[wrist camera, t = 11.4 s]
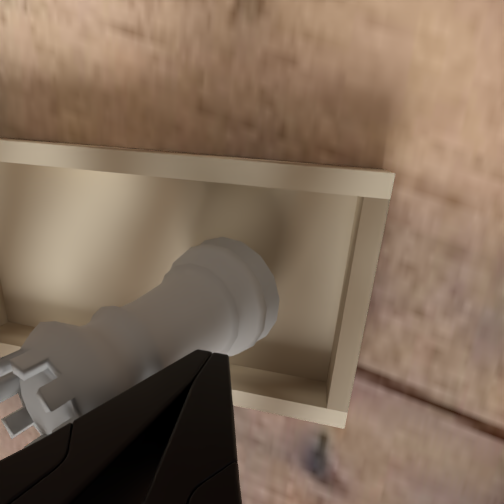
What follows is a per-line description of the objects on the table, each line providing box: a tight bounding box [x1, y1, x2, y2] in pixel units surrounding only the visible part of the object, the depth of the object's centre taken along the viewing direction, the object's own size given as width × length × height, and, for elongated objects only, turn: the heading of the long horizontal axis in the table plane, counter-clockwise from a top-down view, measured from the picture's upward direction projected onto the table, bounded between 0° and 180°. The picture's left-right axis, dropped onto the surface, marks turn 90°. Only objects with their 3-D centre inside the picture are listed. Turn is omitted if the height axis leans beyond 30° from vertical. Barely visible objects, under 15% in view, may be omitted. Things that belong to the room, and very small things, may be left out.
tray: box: [0, 138, 395, 429], centre depth 14 cm, size 18×10×2 cm, turn 86°
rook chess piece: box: [0, 237, 280, 448], centre depth 10 cm, size 4×4×8 cm
